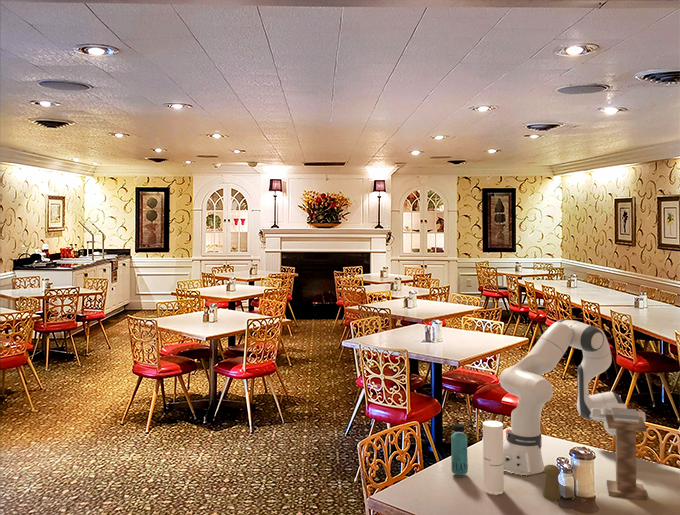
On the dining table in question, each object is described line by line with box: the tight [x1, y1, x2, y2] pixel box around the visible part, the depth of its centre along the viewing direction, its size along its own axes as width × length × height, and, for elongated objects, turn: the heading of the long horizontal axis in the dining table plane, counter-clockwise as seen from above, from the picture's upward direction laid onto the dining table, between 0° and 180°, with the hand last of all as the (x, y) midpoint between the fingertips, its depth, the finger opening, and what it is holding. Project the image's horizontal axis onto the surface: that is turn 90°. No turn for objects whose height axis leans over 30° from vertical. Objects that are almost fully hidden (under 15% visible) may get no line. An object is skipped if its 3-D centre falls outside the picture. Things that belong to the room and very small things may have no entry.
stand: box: [606, 414, 648, 501], centre depth 205 cm, size 12×12×26 cm
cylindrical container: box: [482, 420, 505, 492], centre depth 208 cm, size 7×7×25 cm
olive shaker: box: [542, 464, 562, 501], centre depth 203 cm, size 6×6×11 cm
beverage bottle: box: [450, 423, 469, 476], centre depth 223 cm, size 6×7×20 cm
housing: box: [612, 403, 639, 424], centre depth 210 cm, size 8×18×3 cm, turn 159°
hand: (618, 411), depth 228 cm, fingers open, 8 cm apart
